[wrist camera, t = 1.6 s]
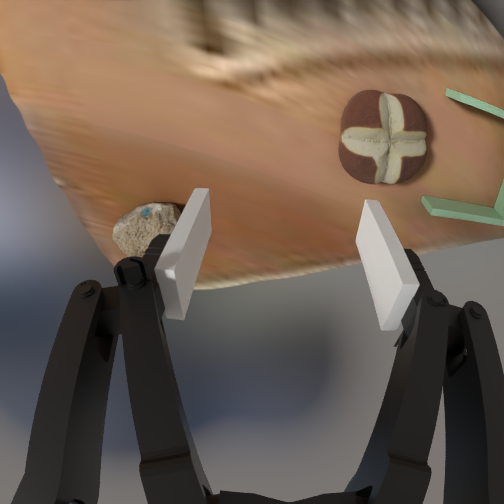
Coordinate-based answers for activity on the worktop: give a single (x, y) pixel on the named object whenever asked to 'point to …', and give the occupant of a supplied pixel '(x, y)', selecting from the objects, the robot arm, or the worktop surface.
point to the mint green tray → (460, 210)
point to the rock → (144, 226)
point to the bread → (382, 137)
